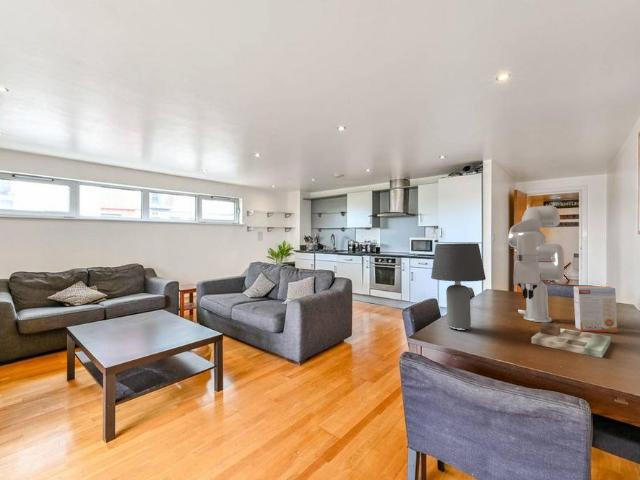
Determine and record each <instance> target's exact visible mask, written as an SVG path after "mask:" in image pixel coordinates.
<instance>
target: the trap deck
mask: <svg viewBox="0 0 640 480" xmlns="http://www.w3.org/2000/svg"><path fill="white" fill-rule="evenodd" d="M560 333H561V334H559V335H558V336H553V335H547V334H542V333H540V331H538V332H536V333H535V334H534V335H533V336H531V339H530V340H531V344H533V345H537V346H543V347H547V348H552V349H557V350H563V351H565V352H571V353H576V354H580V355H581V354H582V355H586V356H590V355H591V357H596V358H602V359H603V358H604V355H605V353H606V351H607V350H608V348H609V347H610V345H611V343H612V337H611V336H609V335H603V334H598V333H597V334H596V333H592V332H587V331H580V330H579V331H578V330H573V329H566V328H561V327H560Z"/></svg>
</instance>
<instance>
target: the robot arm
mask: <svg viewBox="0 0 640 480" xmlns="http://www.w3.org/2000/svg"><path fill="white" fill-rule="evenodd" d="M560 223H561V215H560V213H559V210H558V208H557V207H556V206H554V205H541V206H539V205H538V206H532V207H528V208H526V210H525V211H524V213H523V215H522V217H521V221H519V222H518V223H516V224H514V225H512V226H511V227H510V229H509V231H508V235H507V243H508V245H509V246H510V247H512V248H516V255H513V259H514V260H516V261H514V267H513V282H512V283H513V285H517V286H518V287H519V288H520V289H521V290H522V297H523V298H524V299H526V301H525V302H526V303H525V304H526V309H524V310H523V309H518V311H517V312H518V313H519V314H520V315H523V319H524V320H526V321H529V322H537V323H543V322H548V323H552V322H553V318H551V317H549V303H548V302H549V296H548V295H549V293H548V291H549V290H548V287H547V285H546V284H545V283H544V282H543V281H544V280H546V281H561V280H563V278H564V277H565V258H564V257H565V256H564V253H565V252H564V248H563V246H562V245H560V244H559V243H547V236H546V234H545V233H544V232H543V231H541V230H540V229H541V228H554V227H557V226H559V225H560Z"/></svg>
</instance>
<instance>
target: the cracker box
mask: <svg viewBox="0 0 640 480" xmlns="http://www.w3.org/2000/svg"><path fill="white" fill-rule="evenodd" d="M573 305H574V319H575V320H574V322H575V329H577V330H579V331H580V332H591V333H592V332H595V333H596V332H597V333H598V332H599V333H609V334H610V333H613V334H614V333H615V334H617V333H618V319H617V318H618V316H617V315H618V314H617V296H616V288H615V287H611V286H597V285H596V286H593V285H591V286H590V285H589V286H588V285H574V286H573Z"/></svg>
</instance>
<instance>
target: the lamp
mask: <svg viewBox="0 0 640 480" xmlns="http://www.w3.org/2000/svg"><path fill="white" fill-rule="evenodd" d="M434 246H435V247H434V253H433V255H434V256H433V262H432V269H431V276H430V277H431V279H432V280H437V281H444V282H454V284H451V285H449V286H447V288H446V291H445V292H446V294H445V295H446V316H447V317H446V323H447V326H448V325H449V326H452V327H455V328H462V329H468V328H469V329H471V325H472V321H471V319H472V318H471V316H472V315H471V295H470V294H471V291H470V288H469V287H468V286H466V285H463V284H462V283H461V282H480V281H486V279H487V278H486V273H485V269H484V263H483V259H482V258H483V257H482V254H481V248H480V244H479V243H478V242H477V243H476V242H475V243H473V242H472V243H471V242H468V243H467V242H465V243H460V242H459V243H436V244H435V245H434ZM449 326H448V327H449ZM469 329H468V330H469Z"/></svg>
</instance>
